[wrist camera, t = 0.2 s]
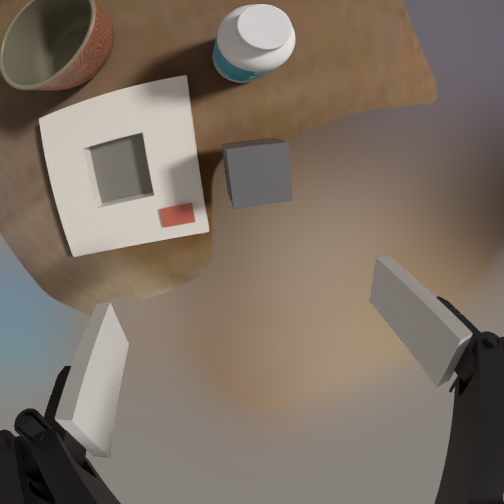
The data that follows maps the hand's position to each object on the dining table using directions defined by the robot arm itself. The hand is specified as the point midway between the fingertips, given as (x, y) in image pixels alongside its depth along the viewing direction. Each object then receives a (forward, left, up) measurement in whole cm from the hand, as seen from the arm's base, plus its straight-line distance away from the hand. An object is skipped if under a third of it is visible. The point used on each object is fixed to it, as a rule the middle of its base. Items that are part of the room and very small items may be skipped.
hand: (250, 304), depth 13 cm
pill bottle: (-16, +5, -27) cm, 32 cm away
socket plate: (-4, -12, -27) cm, 29 cm away
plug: (-2, +4, -27) cm, 27 cm away
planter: (-22, -16, -27) cm, 38 cm away
